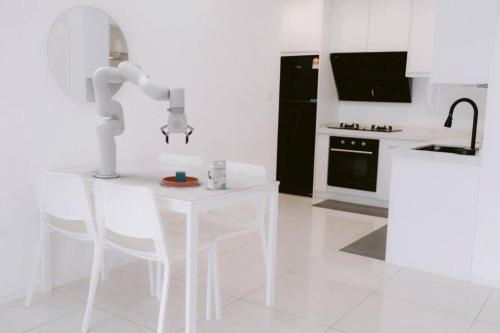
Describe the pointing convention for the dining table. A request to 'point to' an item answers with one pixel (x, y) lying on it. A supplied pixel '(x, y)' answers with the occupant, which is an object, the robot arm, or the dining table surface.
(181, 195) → the dining table surface
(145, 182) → the dining table surface
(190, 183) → the bowl
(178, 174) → the block
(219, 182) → the ink box
